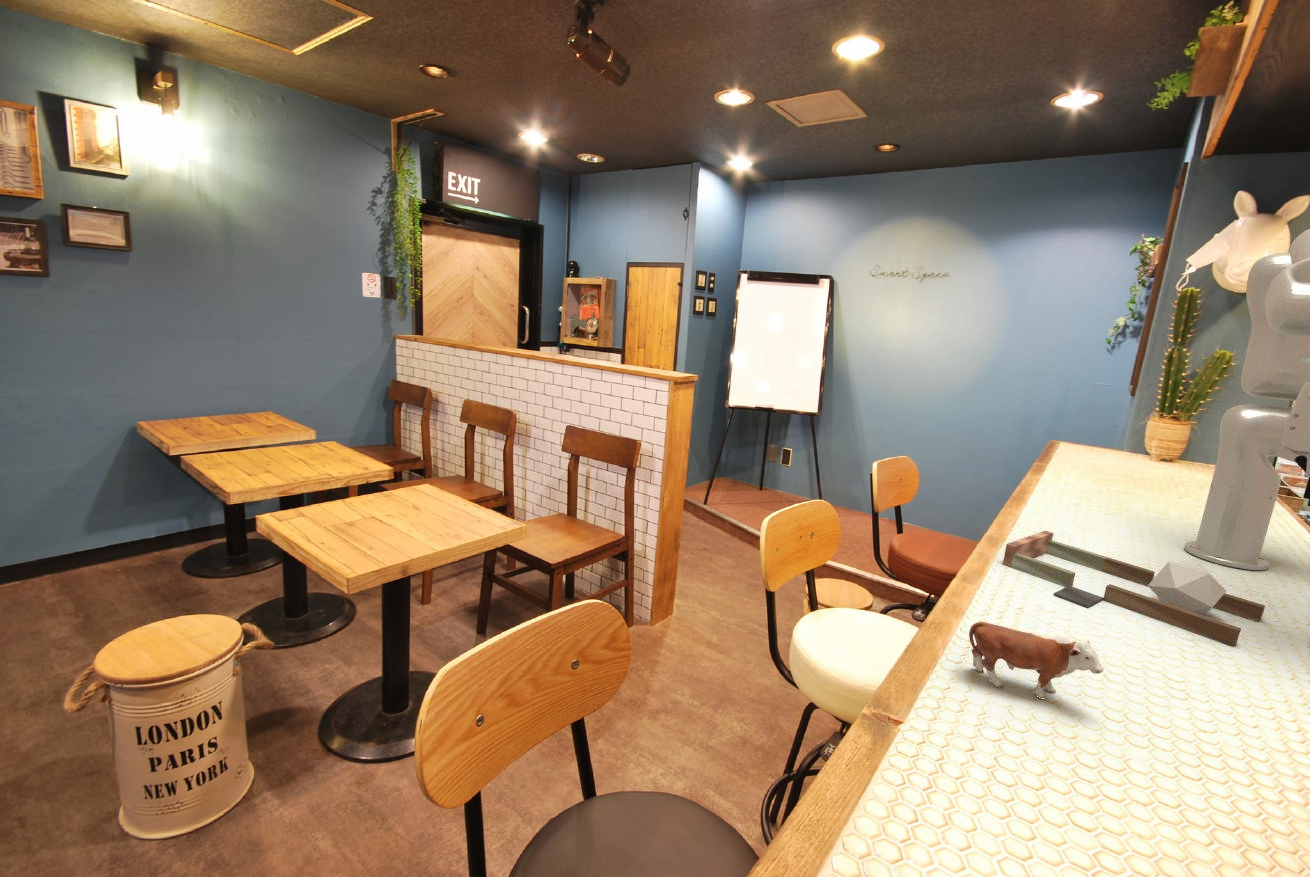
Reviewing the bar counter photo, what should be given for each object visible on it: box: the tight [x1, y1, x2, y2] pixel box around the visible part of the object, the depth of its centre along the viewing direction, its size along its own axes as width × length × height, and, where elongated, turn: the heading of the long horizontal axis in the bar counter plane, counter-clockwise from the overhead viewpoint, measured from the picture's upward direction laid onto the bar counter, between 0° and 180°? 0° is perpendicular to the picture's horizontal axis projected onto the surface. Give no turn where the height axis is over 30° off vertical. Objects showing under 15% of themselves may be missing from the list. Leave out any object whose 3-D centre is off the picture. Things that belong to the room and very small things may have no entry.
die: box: [1147, 561, 1227, 616], centre depth 94 cm, size 8×9×10 cm
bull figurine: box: [968, 621, 1104, 698], centre depth 70 cm, size 4×13×8 cm, turn 58°
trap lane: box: [1002, 530, 1266, 647], centre depth 101 cm, size 28×32×4 cm
